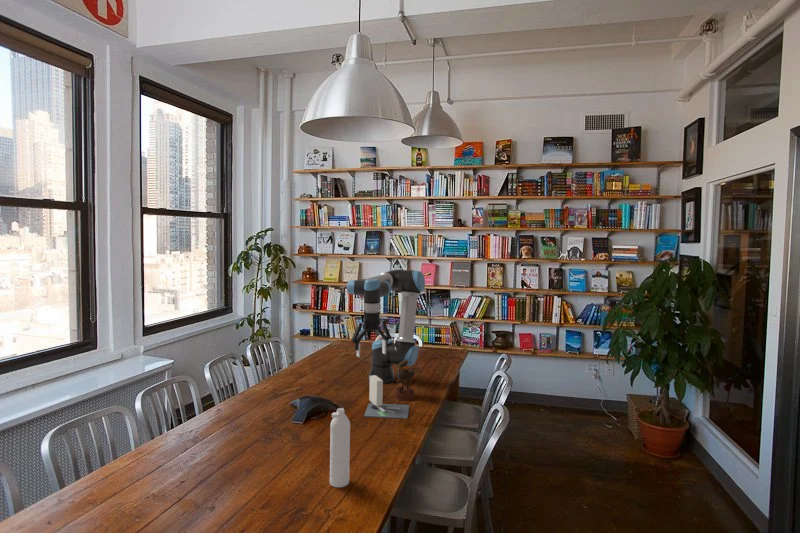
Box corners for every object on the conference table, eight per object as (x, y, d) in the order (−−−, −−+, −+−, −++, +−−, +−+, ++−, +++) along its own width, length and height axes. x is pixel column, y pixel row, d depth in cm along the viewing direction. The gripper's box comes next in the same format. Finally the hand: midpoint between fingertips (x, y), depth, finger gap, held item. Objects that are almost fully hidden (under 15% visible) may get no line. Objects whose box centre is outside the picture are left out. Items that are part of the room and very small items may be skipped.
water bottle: (334, 476, 152) (335, 404, 150) (352, 479, 150) (353, 406, 149) (323, 489, 143) (324, 413, 142) (342, 493, 142) (343, 416, 140)
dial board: (368, 404, 219) (368, 403, 219) (409, 405, 218) (409, 404, 218) (363, 416, 203) (364, 415, 203) (407, 418, 202) (407, 417, 202)
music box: (408, 403, 222) (405, 363, 221) (388, 400, 227) (386, 361, 227) (421, 394, 235) (419, 356, 235) (402, 392, 240) (400, 355, 240)
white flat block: (376, 402, 219) (376, 374, 218) (388, 413, 206) (389, 383, 205) (367, 404, 217) (368, 375, 216) (379, 414, 204) (380, 384, 203)
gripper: (391, 308, 223) (391, 350, 224) (344, 312, 211) (344, 355, 213) (398, 311, 216) (397, 354, 218) (350, 314, 204) (350, 360, 206)
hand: (371, 355), depth 215 cm, fingers open, 13 cm apart
